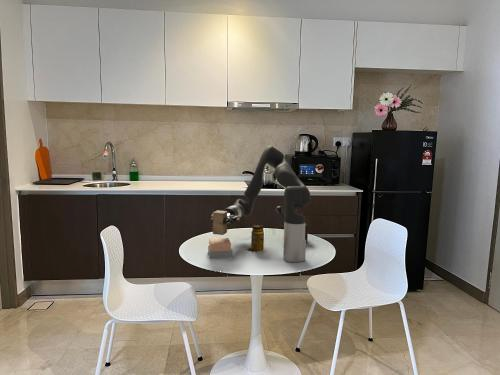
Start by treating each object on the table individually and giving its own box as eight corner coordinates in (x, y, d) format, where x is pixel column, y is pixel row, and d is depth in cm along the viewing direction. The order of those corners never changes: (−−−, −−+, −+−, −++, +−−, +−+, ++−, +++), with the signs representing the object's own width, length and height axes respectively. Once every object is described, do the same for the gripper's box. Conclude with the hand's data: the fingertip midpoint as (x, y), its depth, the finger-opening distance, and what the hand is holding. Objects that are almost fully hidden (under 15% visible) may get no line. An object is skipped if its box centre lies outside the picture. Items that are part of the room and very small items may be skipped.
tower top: (228, 245, 182) (228, 237, 182) (231, 250, 173) (231, 243, 173) (209, 245, 180) (209, 238, 180) (211, 251, 172) (211, 244, 171)
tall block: (217, 231, 179) (217, 210, 177) (227, 232, 177) (227, 211, 176) (212, 233, 174) (212, 212, 172) (222, 235, 172) (223, 213, 171)
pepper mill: (301, 237, 210) (302, 204, 207) (308, 242, 199) (309, 208, 196) (274, 238, 207) (274, 205, 205) (278, 243, 196) (279, 209, 194)
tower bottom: (229, 251, 183) (229, 244, 183) (232, 258, 174) (232, 250, 173) (208, 252, 181) (208, 245, 181) (210, 259, 172) (210, 252, 171)
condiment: (267, 250, 184) (267, 226, 183) (252, 253, 180) (253, 228, 178) (258, 246, 191) (259, 223, 189) (244, 249, 186) (244, 225, 184)
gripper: (218, 205, 190) (203, 212, 174) (245, 207, 185) (232, 215, 169) (218, 220, 191) (203, 228, 175) (245, 222, 186) (232, 231, 170)
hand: (217, 221), depth 172 cm, fingers closed on tall block, 5 cm apart
